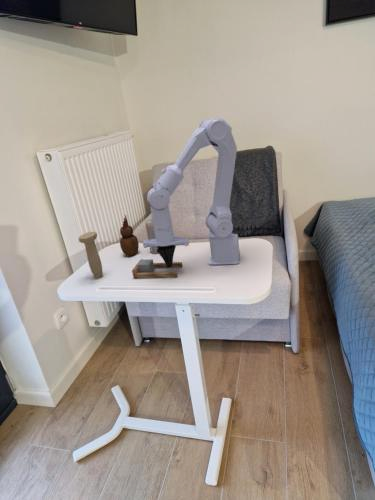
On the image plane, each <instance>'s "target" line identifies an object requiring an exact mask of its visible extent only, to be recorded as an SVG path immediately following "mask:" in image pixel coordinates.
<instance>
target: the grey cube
mask: <svg viewBox="0 0 375 500" xmlns="http://www.w3.org/2000/svg"><path fill="white" fill-rule="evenodd" d="M140 260H141V259H140ZM140 260H139V261H140ZM139 261H138V262H139ZM138 262H137V263H138ZM153 263H154V259H153V258H152V259H151V258H150V259H147V258H146V259H144V260H141V261H140V262H139V263H138V265H137V264H136V265H137V266H138V271H139V273H149V272H155V270H156V268H155V269H154V264H153Z"/></svg>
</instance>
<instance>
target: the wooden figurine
mask: <svg viewBox="0 0 375 500" xmlns="http://www.w3.org/2000/svg"><path fill="white" fill-rule="evenodd" d="M124 216H125V217H123V222H122V226H121V227H120V230H119V233H120V236H121V238H120V239H119V245H120V246H119V247H120V249H121V251H122V253H123V254H124V255H125V256H127V257H131V256H134V255H136V254H137V253H138V252H139V249H140V247H139V246H140V245H139V240H138V237H137V236H136V235H135V234H134V229H133V227H132V226H131V225H129V222H128V218H127V215H126V214H125V215H124Z"/></svg>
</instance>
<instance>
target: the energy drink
mask: <svg viewBox="0 0 375 500" xmlns="http://www.w3.org/2000/svg"><path fill="white" fill-rule="evenodd" d="M145 230H146V234H147V235H146V236H147V240H151V239H156V237H155V232H154V227H153V222H152V218H151V219H148V220H146V221H145ZM149 249H150V253H151V254H159V253H158V252H157V249H158V247H149Z"/></svg>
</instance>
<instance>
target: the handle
mask: <svg viewBox="0 0 375 500" xmlns="http://www.w3.org/2000/svg"><path fill="white" fill-rule="evenodd" d="M97 237H98V233H97V231H88V232H85V233H83V234H81V235H80V236H79V237H78V242H79V243H82V244H84V248H85V253H86V256H87V262H88V266H89V269H90V271H91V273H92V275H93V278H94V279H100V278H102V277H103V275H104V273H103V272H104V271H103V265H102V261H101V257H100V254H99V250H98V248H97V244H96V242H95V241H96V239H97Z"/></svg>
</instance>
